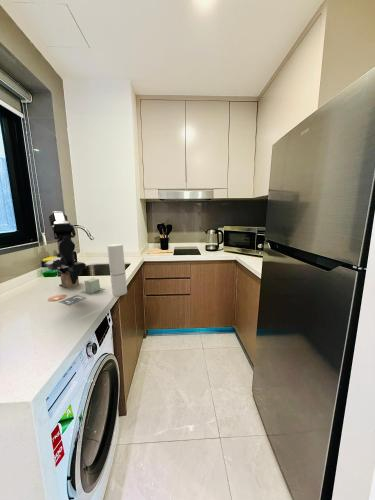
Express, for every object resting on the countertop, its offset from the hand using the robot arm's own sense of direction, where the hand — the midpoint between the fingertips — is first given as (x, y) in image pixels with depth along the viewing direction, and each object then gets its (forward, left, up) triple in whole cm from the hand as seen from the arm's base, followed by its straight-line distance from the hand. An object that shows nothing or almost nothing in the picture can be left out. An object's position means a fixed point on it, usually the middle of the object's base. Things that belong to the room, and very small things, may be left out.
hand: (70, 283), depth 95 cm
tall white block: (+14, +16, -9) cm, 23 cm away
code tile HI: (-2, +12, -9) cm, 15 cm away
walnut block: (0, 0, -1) cm, 1 cm away
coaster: (-10, -2, -9) cm, 14 cm away
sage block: (-2, +12, -8) cm, 15 cm away
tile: (0, 0, -9) cm, 9 cm away
